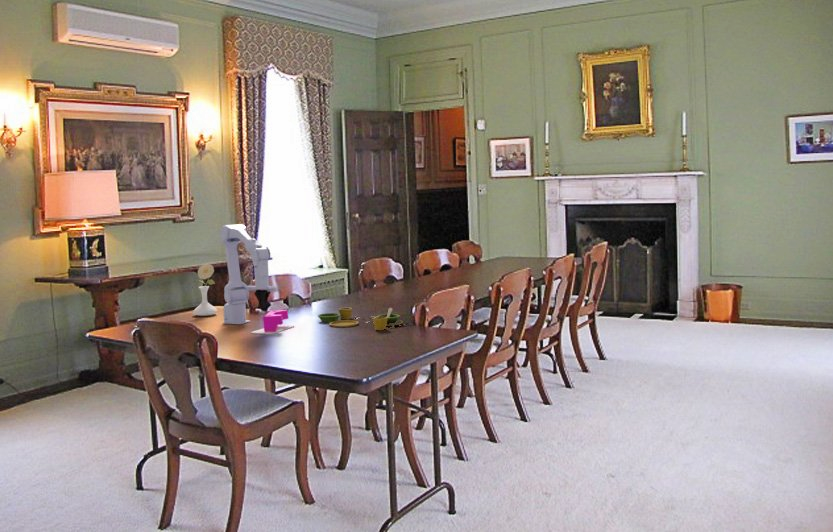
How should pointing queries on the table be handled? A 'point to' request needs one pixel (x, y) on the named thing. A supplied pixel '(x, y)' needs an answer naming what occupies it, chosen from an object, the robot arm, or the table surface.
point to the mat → (279, 329)
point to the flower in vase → (205, 292)
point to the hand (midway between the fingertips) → (263, 307)
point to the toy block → (274, 319)
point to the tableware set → (345, 313)
